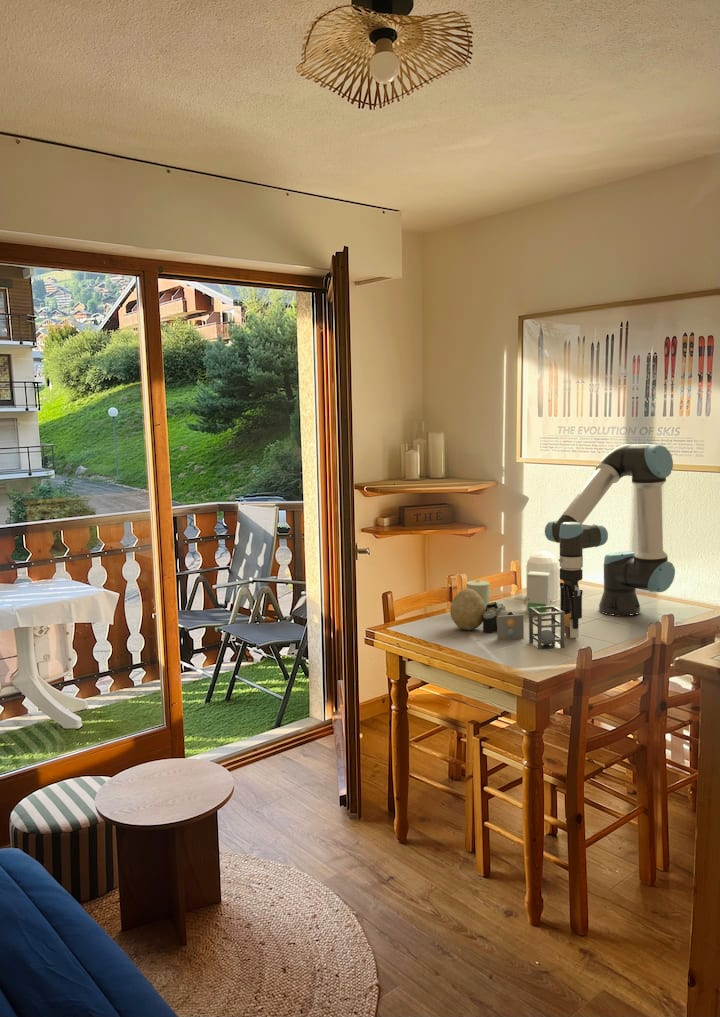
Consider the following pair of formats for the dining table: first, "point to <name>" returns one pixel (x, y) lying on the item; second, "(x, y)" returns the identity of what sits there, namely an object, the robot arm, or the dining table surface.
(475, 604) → the fossilized egg
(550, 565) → the container
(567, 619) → the orange ball
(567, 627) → the pedestal
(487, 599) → the can
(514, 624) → the sign
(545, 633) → the gray ball
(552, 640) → the open frame box
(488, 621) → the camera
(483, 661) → the dining table surface
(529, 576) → the skincare box
